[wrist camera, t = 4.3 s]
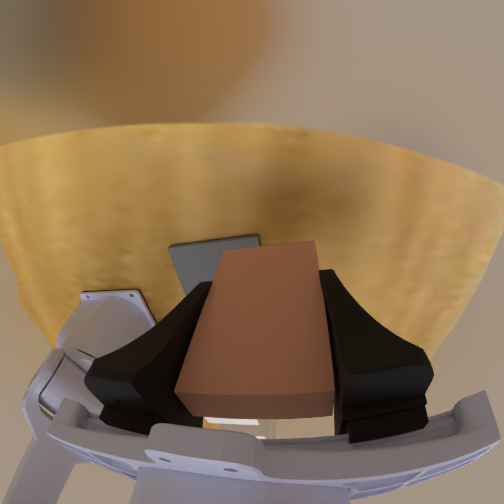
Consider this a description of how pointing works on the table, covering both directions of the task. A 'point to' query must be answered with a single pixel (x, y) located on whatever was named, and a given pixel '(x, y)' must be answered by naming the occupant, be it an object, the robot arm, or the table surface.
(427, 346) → the table surface
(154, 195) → the table surface
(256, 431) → the domino
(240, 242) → the mat
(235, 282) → the domino
